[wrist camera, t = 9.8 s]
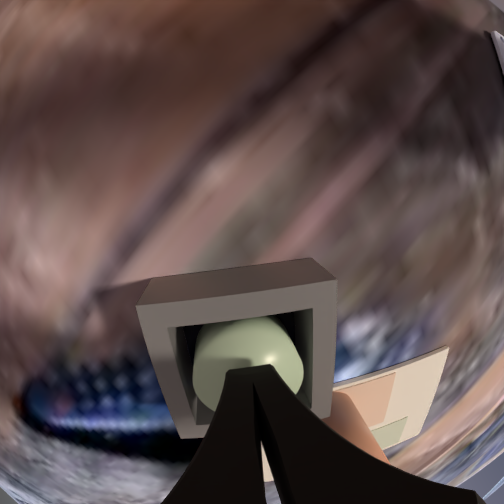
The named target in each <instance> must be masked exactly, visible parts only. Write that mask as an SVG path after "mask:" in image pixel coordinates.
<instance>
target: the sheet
mask: <svg viewBox="0 0 504 504" xmlns="http://www.w3.org/2000/svg"><path fill="white" fill-rule="evenodd" d="M448 351H449V347H448V346H444V347H441V348H439V349H437V350H434V351H432V352H429V353H427V354H424V355H422V356H419V357H416V358H414V359H411V360H408V361H406V362H403V363H400V364H397V365H394V366H391V367H388V368H385V369H382V370H379V371H376V372H373V373H369V374H366V375H363V376H359V377H356V378H352V379H349V380H345V381H341V382H337V383H334V384H333V391H337V392H343V393H345V394H347V395H348V396H349V397H350V398H351V400H352V401H353V403H354V405H355V406H356V408H357V409H358V411H359V413H360V414H361V416H362V418H363V419H364V421H365V423H366V424H367V426H368V428H369V429H370V431H371V433H372V434H373V436H374V438H375V439H376V441H377V443H378V444H379V446H380V448H381V449H382V450H384V449H386V448H389V447H391V446H394V445H396V444H398V443H401V442H403V441H405V440H407V439H409V438H412V437H414V436H416V435H418V434H419V433H420V430H421V428H422V426H423V423H424V421H425V419H426V416H427V414H428V411H429V409H430V406H431V403H432V401H433V398H434V395H435V393H436V390H437V387H438V384H439V381H440V378H441V375H442V371H443V368H444V365H445V361H446V358H447V354H448ZM261 449H262V462H263V474H264V482H267V481H273V480H274V479H273V476H272V473H271V470H270V467H269V464H268V461H267V458H266V455H265V452H264V448H263V445H262V442H261Z"/></svg>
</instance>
